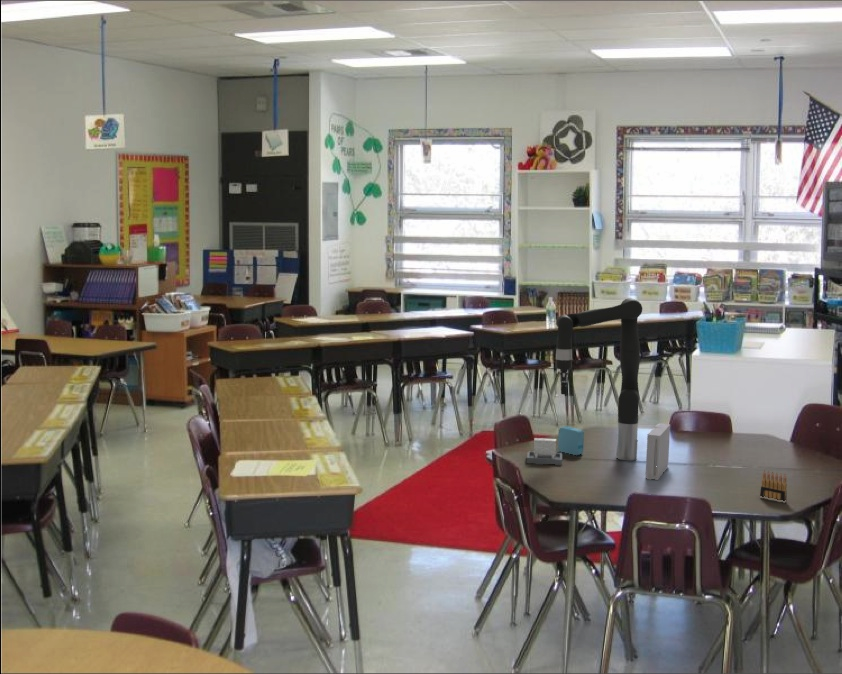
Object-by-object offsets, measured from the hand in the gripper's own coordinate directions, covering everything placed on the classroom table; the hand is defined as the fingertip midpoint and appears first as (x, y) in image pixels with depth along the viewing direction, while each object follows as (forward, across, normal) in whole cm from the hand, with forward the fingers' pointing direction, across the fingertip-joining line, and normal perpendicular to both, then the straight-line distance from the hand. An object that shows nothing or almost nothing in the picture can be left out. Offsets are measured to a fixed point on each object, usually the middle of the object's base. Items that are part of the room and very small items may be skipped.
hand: (563, 392), depth 523 cm
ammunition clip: (+33, -59, -85) cm, 109 cm away
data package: (+31, +9, -4) cm, 33 cm away
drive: (+29, -10, +8) cm, 32 cm away
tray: (+31, -10, +8) cm, 33 cm away
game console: (+32, -22, -42) cm, 57 cm away
